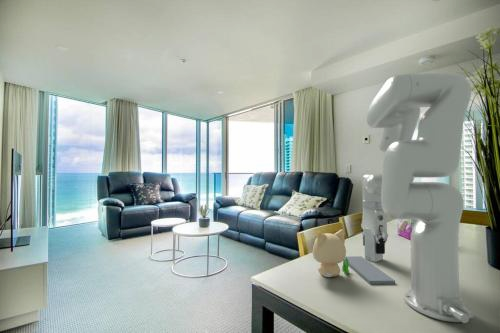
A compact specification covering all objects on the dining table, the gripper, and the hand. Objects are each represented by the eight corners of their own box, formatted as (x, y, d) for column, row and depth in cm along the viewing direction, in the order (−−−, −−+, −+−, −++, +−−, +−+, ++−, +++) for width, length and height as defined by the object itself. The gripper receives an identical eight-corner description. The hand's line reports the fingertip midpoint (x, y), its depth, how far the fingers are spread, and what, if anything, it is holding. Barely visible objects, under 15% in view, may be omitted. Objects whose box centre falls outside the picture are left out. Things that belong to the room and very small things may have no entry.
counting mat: (395, 283, 70) (395, 280, 70) (369, 284, 69) (369, 280, 69) (361, 258, 90) (361, 256, 90) (341, 259, 89) (341, 256, 89)
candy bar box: (397, 234, 124) (396, 204, 125) (406, 234, 124) (405, 204, 125) (411, 241, 113) (410, 208, 114) (421, 241, 113) (420, 208, 114)
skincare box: (375, 262, 86) (375, 230, 86) (363, 258, 90) (363, 228, 90) (383, 259, 90) (383, 228, 90) (372, 255, 93) (371, 226, 94)
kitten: (338, 265, 83) (338, 224, 84) (359, 277, 74) (359, 231, 74) (302, 271, 78) (302, 227, 79) (320, 284, 69) (320, 235, 69)
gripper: (397, 209, 82) (397, 257, 81) (370, 202, 99) (370, 242, 99) (376, 209, 82) (377, 258, 81) (353, 202, 99) (353, 242, 99)
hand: (373, 249), depth 90 cm, fingers open, 8 cm apart
